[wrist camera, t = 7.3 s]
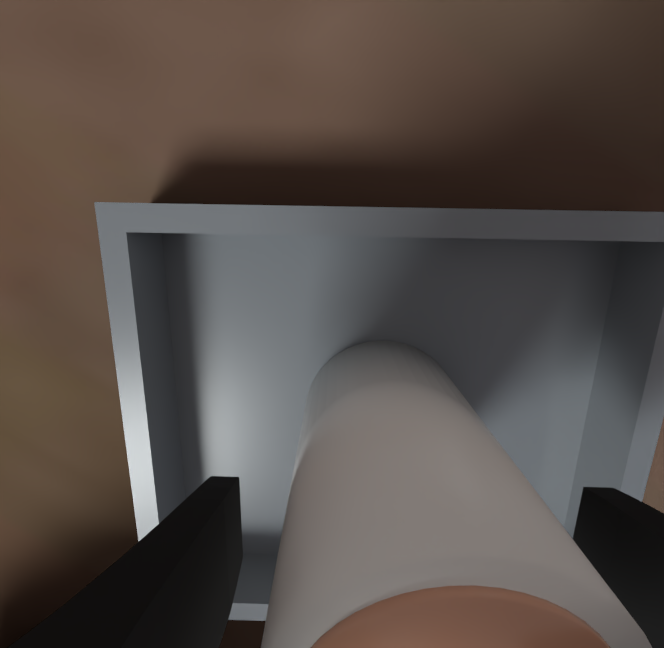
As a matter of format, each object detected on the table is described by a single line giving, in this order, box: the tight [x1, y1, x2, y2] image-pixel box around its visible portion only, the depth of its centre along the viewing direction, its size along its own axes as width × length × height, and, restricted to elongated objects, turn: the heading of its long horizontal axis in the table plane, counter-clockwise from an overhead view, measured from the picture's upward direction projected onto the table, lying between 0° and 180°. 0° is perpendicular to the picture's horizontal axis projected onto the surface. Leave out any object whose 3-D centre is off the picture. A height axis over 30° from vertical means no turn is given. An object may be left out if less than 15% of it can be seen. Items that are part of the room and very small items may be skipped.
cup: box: [261, 341, 652, 648], centre depth 8 cm, size 5×5×8 cm
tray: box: [94, 202, 664, 621], centre depth 12 cm, size 15×13×2 cm
